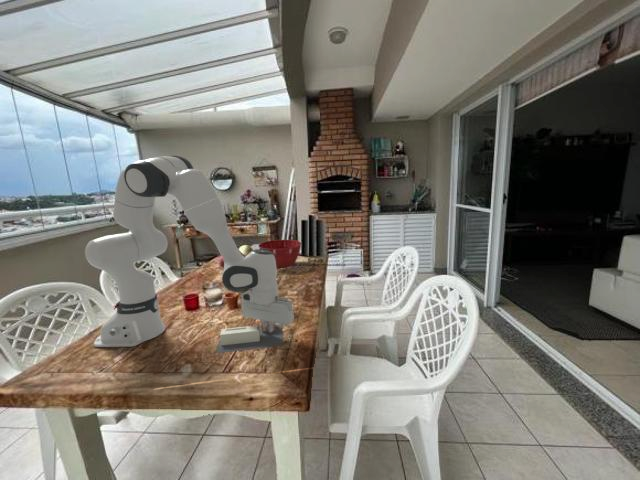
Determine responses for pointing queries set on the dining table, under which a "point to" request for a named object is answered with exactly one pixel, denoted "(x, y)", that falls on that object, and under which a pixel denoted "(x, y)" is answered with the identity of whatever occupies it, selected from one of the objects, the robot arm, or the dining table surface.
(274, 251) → the mixing bowl
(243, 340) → the pale green slotted block
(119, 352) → the dining table surface
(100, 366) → the dining table surface
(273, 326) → the stub
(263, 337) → the slate mat
